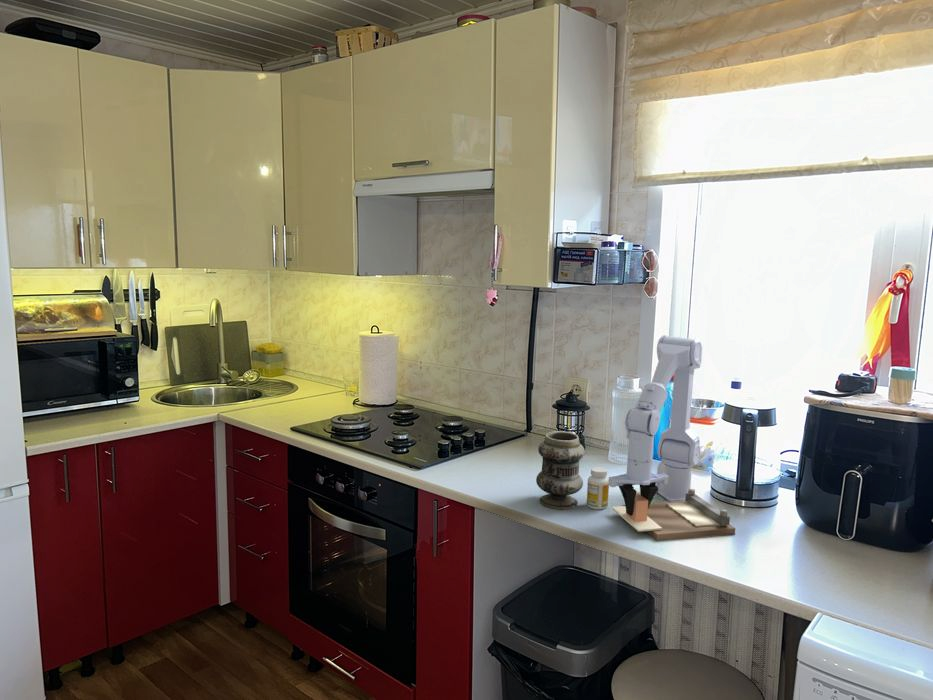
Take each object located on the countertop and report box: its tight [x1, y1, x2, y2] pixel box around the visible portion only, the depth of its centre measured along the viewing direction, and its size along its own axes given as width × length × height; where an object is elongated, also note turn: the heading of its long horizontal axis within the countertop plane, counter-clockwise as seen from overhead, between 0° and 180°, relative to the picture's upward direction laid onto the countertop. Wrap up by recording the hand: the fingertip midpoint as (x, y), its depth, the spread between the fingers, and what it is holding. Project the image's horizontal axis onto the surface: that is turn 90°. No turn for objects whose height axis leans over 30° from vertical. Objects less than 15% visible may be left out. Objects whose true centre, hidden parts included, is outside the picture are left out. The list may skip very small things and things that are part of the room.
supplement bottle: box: [586, 466, 610, 510], centre depth 175 cm, size 5×5×10 cm
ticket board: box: [621, 488, 736, 542], centre depth 166 cm, size 18×20×5 cm
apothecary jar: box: [535, 430, 586, 510], centre depth 176 cm, size 12×12×18 cm
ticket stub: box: [611, 492, 662, 532], centre depth 163 cm, size 14×6×5 cm, turn 13°
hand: (636, 513), depth 163 cm, fingers closed on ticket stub, 3 cm apart
